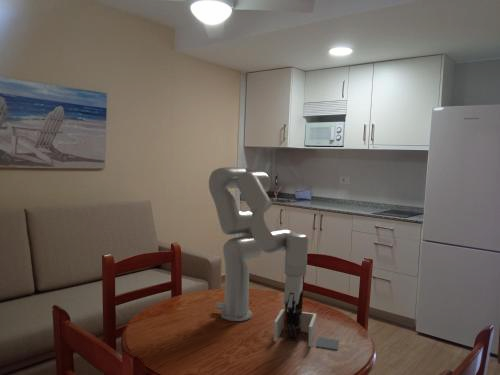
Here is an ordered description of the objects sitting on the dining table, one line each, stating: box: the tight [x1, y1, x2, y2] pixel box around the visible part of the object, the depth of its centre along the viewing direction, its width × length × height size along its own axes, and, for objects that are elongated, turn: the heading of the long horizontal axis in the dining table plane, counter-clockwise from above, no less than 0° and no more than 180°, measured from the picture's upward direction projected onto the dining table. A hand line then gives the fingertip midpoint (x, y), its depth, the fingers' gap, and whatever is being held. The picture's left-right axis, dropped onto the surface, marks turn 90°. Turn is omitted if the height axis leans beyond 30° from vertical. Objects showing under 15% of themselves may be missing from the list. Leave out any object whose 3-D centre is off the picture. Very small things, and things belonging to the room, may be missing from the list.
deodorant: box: [283, 291, 304, 338], centre depth 137 cm, size 6×6×15 cm
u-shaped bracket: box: [273, 308, 317, 348], centre depth 139 cm, size 13×12×7 cm
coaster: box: [315, 336, 340, 351], centre depth 134 cm, size 7×7×1 cm
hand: (292, 319), depth 137 cm, fingers closed on deodorant, 5 cm apart
